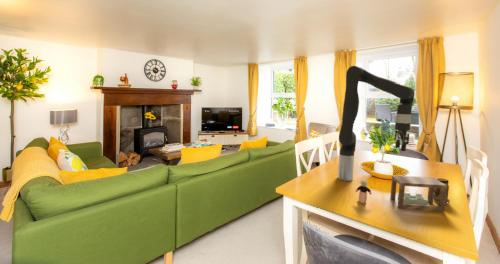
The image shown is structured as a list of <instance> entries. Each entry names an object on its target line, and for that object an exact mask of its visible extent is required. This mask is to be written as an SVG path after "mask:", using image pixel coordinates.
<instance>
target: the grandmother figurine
mask: <svg viewBox="0 0 500 264" xmlns="http://www.w3.org/2000/svg"><path fill="white" fill-rule="evenodd" d="M368 184H369V183H368V181H367V180H366V179H361V180H360V186H358V187H357V188H356V189H355V193H358V192H359V193H358V200H357V201H356V203H358V204H363V205H367V198H368V194H369V195H372V190H371V188H369V187H367V185H368ZM367 192H368V193H367Z"/></svg>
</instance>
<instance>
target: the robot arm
mask: <svg viewBox="0 0 500 264" xmlns="http://www.w3.org/2000/svg"><path fill="white" fill-rule="evenodd" d="M359 82H361V83H366V84H368V85H371V86H372V87H374V88H376V89H378V90H380V91H382V92H385V93H388V94H391V95H393V96H394V97H396V98H399V103H398V105H397V107H396V108H397V109H396V116H395V124H394V130H395V132H394V138H393V139H394V141H395V146H394V147H395V148H396V149H400V151H401V152H406V151H407V145H409V144H410V143H409V142H410V133H407V132H409V131H411V126H412V125H411V123H412V108H413V103H414V99H415V89H414V88H412V87H410V86H406V85H402V84H400V83H397V82H396V81H393V80H391V79H388V78H386V77H383V76H379V75H377V74H374V73H371V72H369V71H368V70H366V69H365V68H363V67H361V66H357V65H351V66H349V67H348V69H347V70H346V74H345V92H344V101H343V108H342V117H341V126H340V131H339V136H338V140H339V143H340V144H341V146H340V149H339V158H338V167H337V178H338V180H339V181H343V180H344V181H343V182H351V181H353V179H354V163H355V161H354V160H355V151H356V144H357V136H356V135H357V134H356V133H355V131H353V129H354V124H355V121H356V118H357V116H358V112H359V107H360V106H359V105H360V97H359V91H358V90H359V89H358V88H359V87H358V86H359Z"/></svg>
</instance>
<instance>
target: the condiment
mask: <svg viewBox="0 0 500 264" xmlns="http://www.w3.org/2000/svg"><path fill="white" fill-rule="evenodd" d="M436 179H437V180H439V181H440V182H442V183H444V184H445V185H447V189H446V198H445V205H450V201H451V200H450V198H449V190H450V186H449V180H448V179H445V178H442V177H441V178H436ZM439 194H440V188H434V197H433V203H438V202H439ZM447 202H448V203H449V204H448V203H447Z"/></svg>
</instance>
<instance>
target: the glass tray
mask: <svg viewBox="0 0 500 264" xmlns="http://www.w3.org/2000/svg"><path fill="white" fill-rule="evenodd" d="M398 195H399V193H398V194H397V196H398ZM403 203H404V204H418V205H429V203H428V198H426V197H425V196H424V195H423V193H421V192H415V194H411V193H410V192H409V191H404V202H403Z"/></svg>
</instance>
